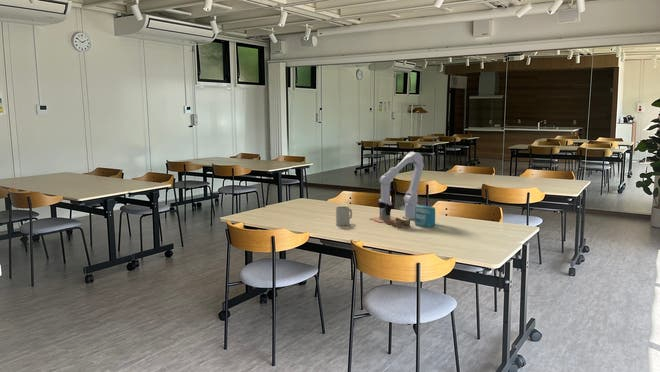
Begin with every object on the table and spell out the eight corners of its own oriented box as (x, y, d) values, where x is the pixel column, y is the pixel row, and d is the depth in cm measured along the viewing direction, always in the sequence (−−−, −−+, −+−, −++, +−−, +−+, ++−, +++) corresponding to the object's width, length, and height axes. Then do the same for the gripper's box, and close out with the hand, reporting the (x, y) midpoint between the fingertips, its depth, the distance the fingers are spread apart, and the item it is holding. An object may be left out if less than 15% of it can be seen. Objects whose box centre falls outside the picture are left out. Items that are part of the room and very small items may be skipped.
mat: (391, 216, 352) (391, 216, 352) (400, 220, 340) (400, 219, 340) (369, 219, 346) (369, 218, 346) (378, 222, 334) (378, 222, 334)
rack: (397, 221, 338) (397, 215, 337) (410, 226, 323) (410, 220, 322) (384, 222, 334) (384, 216, 334) (396, 227, 319) (396, 221, 319)
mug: (342, 226, 325) (342, 209, 323) (333, 224, 331) (333, 207, 330) (356, 223, 333) (356, 206, 331) (347, 221, 339) (346, 205, 338)
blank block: (387, 218, 346) (387, 207, 345) (390, 219, 342) (390, 208, 341) (379, 218, 343) (379, 208, 342) (382, 220, 340) (382, 209, 339)
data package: (414, 225, 326) (414, 206, 325) (418, 223, 330) (418, 205, 328) (431, 227, 319) (431, 208, 317) (435, 226, 322) (435, 207, 320)
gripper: (374, 192, 345) (374, 212, 347) (385, 195, 332) (385, 216, 334) (384, 191, 348) (384, 211, 350) (394, 195, 335) (394, 215, 337)
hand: (385, 214), depth 342 cm, fingers open, 7 cm apart
